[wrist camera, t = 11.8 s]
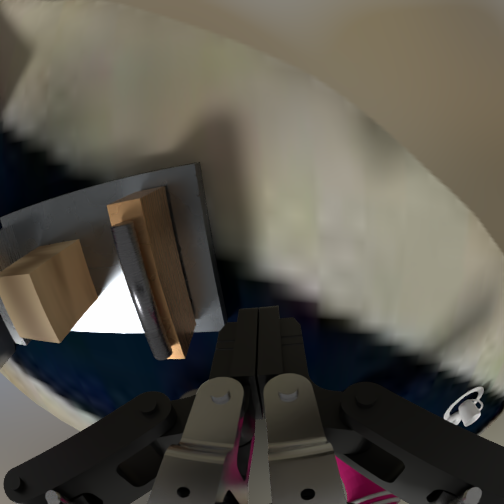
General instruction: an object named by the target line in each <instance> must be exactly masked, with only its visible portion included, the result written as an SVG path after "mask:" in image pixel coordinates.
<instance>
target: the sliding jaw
mask: <svg viewBox="0 0 504 504" xmlns="http://www.w3.org/2000/svg"><path fill="white" fill-rule="evenodd" d="M107 209H108V213H109V218H110V222H111V226H112V227H110V228H111V232H112V236H113V240H114V244H115V247H116V251H117V254H118V258H119V261H120V264H121V268H122V271H123V274H124V277H125V280H126V283H127V287H128V290H129V292H130V295H131V298H132V301H133V304H134V307H135V310H136V312H137V315H138V318H139V320H140V323H141V325H142V328H143V331H144V333H145V336H146V338H147V341H148V343H149V345H150V348H151V350H152V352H153V355H154V357H155V358H156V359H158V360H165V359H185V357H186V354H187V351H188V348H189V345H190V342H191V338H192V335H193V332H194V329H195V326H196V321H195V318H194V314H193V310H192V307H191V303H190V299H189V295H188V291H187V287H186V283H185V279H184V275H183V271H182V267H181V263H180V258H179V254H178V250H177V245H176V241H175V236H174V231H173V227H172V222H171V217H170V212H169V207H168V202H167V196H166V191H165V186H162V187H157V188H152V189H147V190H142V191H137V192H134V193H132V194H130V195H127V196H125V197H123V198H121V199H119V200H117V201H115V202H113V203H110V204H108V205H107Z"/></svg>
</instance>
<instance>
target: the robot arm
mask: <svg viewBox="0 0 504 504" xmlns="http://www.w3.org/2000/svg"><path fill="white" fill-rule="evenodd" d="M14 352H15V345H14V342H13V339H12V336H11V334H10V332H9V330H8V328H7V327H6V325H5V323H4V322H3V320H2V319H1V317H0V369H1V368H2V367H3V365H4V364H5V363H6V362H7V361H8V359H9V358H10V357H11V356H12V355H13V354H14ZM263 412H264V418H265V419H266V427H267V439H268V463H269V474H270V485H271V497H272V503H271V504H355V503H351V502H346V498H345V494H344V489H343V486H342V481H341V477H340V473H339V469H338V465H337V461H336V457H338V458H339V459H340V460H342V461H343V462H345V463H346V464H347V465H349V466H350V467H352V468H353V469H354V470H356V471H357V472H359V473H360V474H362V475H363V476H365V477H366V478H368V479H369V480H371V481H372V482H374V483H375V484H377V485H379V486H380V487H382V488H383V489H385V490H387V491H388V492H390V493H392V494H393V495H395V496H397V497H398V498H400V499H402V500H403V501H405V502H407V503H409V504H504V447H503V446H501V445H498V444H496V443H494V442H492V441H489V440H487V439H485V438H483V437H480V436H478V435H476V434H474V433H472V432H470V431H467V430H465V429H463V428H461V427H459V426H457V425H455V424H453V423H451V422H449V421H447V420H445V419H443V418H441V417H439V416H437V415H435V414H433V413H431V412H429V411H427V410H425V409H423V408H421V407H419V406H417V405H415V404H413V403H412V402H410V401H408V400H406V399H404V398H402V397H400V396H399V395H397V394H395V393H393V392H391V391H389V390H388V389H386V388H384V387H382V386H380V385H378V384H376V383H372V382H359V383H356V384H353V385H351V386H349V387H348V388H347V389H346V390H345V391H344V392H339V391H331V390H326V389H322V388H320V387H318V386H317V385H315V384H314V383H313V382H312V381H311V379H310V377H309V375H308V369H307V363H306V357H305V351H304V345H303V338H302V333H301V327H300V324H299V323H298V322H297V321H296V320H295V319H294V318H283V319H279V307H278V306H272V307H260V309H259V308H248V309H239V313H238V320H237V322H230V323H226V324H225V325H224V326H223V328H222V329H221V330H220V331H219V336H218V340H217V345H216V351H215V354H214V358H213V363H212V368H211V372H210V377H209V380H208V381H206V382H205V383H203V384H202V385H201V386H200V388H199V389H198V391H197V394H196V395H193V396H191V397H187V398H184V399H178V400H173V401H170V400H169V398H168V397H167V396H166V395H165V394H163V393H160V392H146V393H143V394H140V395H139V396H137V397H135V398H134V399H132V400H131V401H129V402H128V403H126V404H125V405H123V406H121V407H120V408H118V409H117V410H115V411H114V412H112V413H110V414H109V415H107V416H105V417H104V418H102V419H101V420H99V421H97V422H96V423H94V424H92V425H91V426H89V427H87V428H86V429H84V430H82V431H81V432H79V433H77V434H76V435H74V436H72V437H70V438H69V439H67V440H65V441H64V442H62V443H60V444H58V445H57V446H54V447H53V448H51V449H49V450H47V451H45V452H43V453H42V454H40V455H38V456H36V457H34V458H32V459H30V460H28V461H27V462H24V463H23V464H21V465H19V466H17V467H15V468H13V469H11V470H10V471H8V473H7V474H6V476H5V478H4V490H5V493H6V495H7V496H8V497H9V499H10V500H12V501H13V502H15V503H16V504H130V503H132V502H133V501H135V500H136V499H138V498H140V497H141V496H143V495H144V494H146V493H147V492H149V491H150V490H152V491H151V493H150V496H149V499H148V502H147V504H248V499H249V491H248V481H249V474H250V468H251V461H252V454H253V447H254V440H255V436H254V433H255V419H263ZM335 456H336V457H335Z"/></svg>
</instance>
